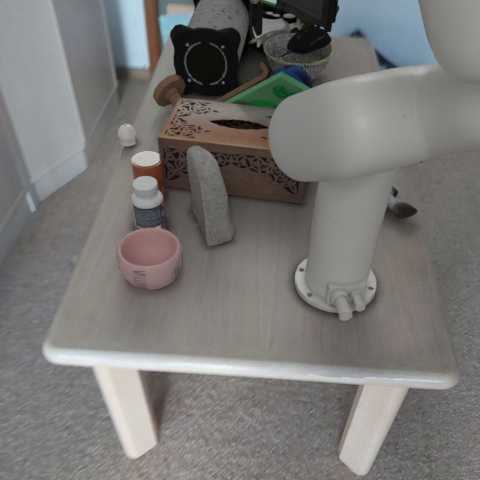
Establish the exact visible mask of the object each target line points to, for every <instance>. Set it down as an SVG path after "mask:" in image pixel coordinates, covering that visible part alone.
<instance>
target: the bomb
mask: <svg viewBox="0 0 480 480" xmlns="http://www.w3.org/2000/svg"><path fill="white" fill-rule="evenodd" d="M281 71H282V72H283V73H285V74H287V75H289V76H290V77H292V78H294V79H295V80H297V81H299V82H301V83H302V84H304V85H306V86H308V87H309V88H313V87H314V85H313V80H311V78H310V76H309V74H308V73H307V72H306V71H305V70H304V69H303V68H301V67H299V66H297V65H285V66H282V67H280V68H278V69H277V70H276V71H275V72H272V73H271V75H270V77H272V76H274V75H276V74H278V73H280V72H281Z"/></svg>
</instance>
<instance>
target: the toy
mask: <svg viewBox="0 0 480 480" xmlns="http://www.w3.org/2000/svg"><path fill="white" fill-rule="evenodd" d="M308 89H310V88H309V87H308V86H306V85H304V84H302V83H301V82H299V81H297V80H295V79H294V78H292V77H290V76H289V75H287V74H285V73H283V72H282V71H281V72H280V73H278V74H276V75H274V76H272V77H271V76H270V77H268V78H266V79H265V80H264V81H263V82H261V83H259V84H257V85H255V86H253V87H251V88H249V89H247V90H246V91H244V92H242V93H240V94H238V95H236V96H234V97H232V98H230V99H229V100H227V101H225V103H234V104H243V105H253V106H261V107H272V108H277V106H278V105H279V104H280V103H281V102H282V101H283V100H284V99H286V98H287V97H289V96H292V95H294V94H297V93H300V92H302V91H305V90H308Z"/></svg>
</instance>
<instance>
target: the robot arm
mask: <svg viewBox="0 0 480 480" xmlns="http://www.w3.org/2000/svg"><path fill="white" fill-rule="evenodd" d="M417 2H418V6H419V11H420V15H421V19H422V24H423V28H424V33H425V36H426V39H427V42H428V45H429V48H430V50H431V52H432V55H433V57H434V59H435V61H436V62H433V63H427V64H414V65H404V66H399V67H397V66H396V67H391V68H387V69H382V70H376V71H371V72H366V73H365V72H364V73H359V74H355V75H350V76H345V77H341V78H338V79H334V80H330V81H327V82H324V83H320V84H318V85H316V86H313V88H310V89H308V90H305V91H302V92H300V93H297V94H294V95H292V96H289V97H287V98H286V99H284V100H283V101H282V102H281V103H280V104H279V105H278V106H277V108H276V109H275V111H274V113H273V115H272V118H271V121H270V125H269V132H268V141H269V148H270V151H271V154H272V157H273V159H274V161H275V163H276V164H277V166H278V167H279V168H280V169H281V171H282V172H283V173H285V174H286V175H287V176H288V177H290V178H292V179H294V180H297V181H302V182H306V183H307V182H308V183H313V182H316V183H318V184H317V188H316V193H315V201H314V207H313V214H312V223H311V228H310V236H309V243H308V250H307V257H306V258H304V259H303V260H302V261H301V262H300V263H299V264H298V265H297V267H296V269H295V272H294V281H293V283H294V288H295V290H296V292H297V294H298V295H299V297H300V298H301V299H302V300H303V301H304V302H306V304H308V305H310V306H312V307H314V308H316V309H318V310H320V311H324V312H327V313H334V314H337V315H338V318H339V320H340V321H342V322H347V321H349V320H351V319H352V317H354V313H353V312H356V311H357V312H358V313H360V312H364V311H365V309H366V306H367V305H368V304H370V303H371V302H372V300H373V299H374V297H375V295H376V292H377V278H376V275H375V273H374V272H373V270H372V266H373V261H374V258H375V253H376V251H377V246H378V242H379V238H380V235H381V231H382V226H383V223H384V219H385V216H386V215H385V214H386V211H387V208H388V207H387V204H388V201H389V197H390V193H391V190H392V187H394V183H395V180H396V178H397V176H398V173H399V170H400V169H401V168H405V167H408V166H411V165H412V166H413V165H415V164H418V163H419V164H420V162H422V161H423V162H424V161H428V160H430V159H433V158H437V157H441V156H447V155H455V154H464V153H472V152H478V151H480V0H417ZM338 5H339V0H323V6H322V15H321V25H322V27H321V28H322V29H324V30H325V31H326V32H327V33H331V32H332V28H333V24H335V23H336V21H337V15H338V13H337V7H338ZM336 14H337V15H336ZM262 21H263V3H262V1H261V0H250V5H249V24H250V27H253V29H254V31H255V33H256V36H260V35H261V34H262ZM423 162H422V163H423Z"/></svg>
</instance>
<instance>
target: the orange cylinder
mask: <svg viewBox="0 0 480 480" xmlns="http://www.w3.org/2000/svg"><path fill="white" fill-rule="evenodd" d="M130 164H131V171H132V177H133V181H134V180H135V179H136V178H138V177H142V176H150V177H153V178H155V179H156V180H157V183H158V190H159V191H160V192H161V193H162V195H163V199H164V198H165V187H164V185H163V179H164V168H163V159H162V156H161V155H160V154H159V152H156V151H153V150H151V151H150V150H144V151H139V152H137V153H135V154H133V155H132V157H131V159H130Z"/></svg>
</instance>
